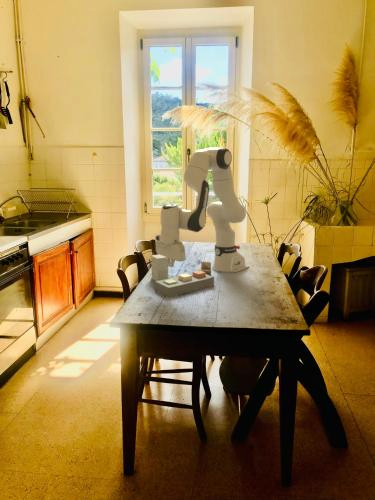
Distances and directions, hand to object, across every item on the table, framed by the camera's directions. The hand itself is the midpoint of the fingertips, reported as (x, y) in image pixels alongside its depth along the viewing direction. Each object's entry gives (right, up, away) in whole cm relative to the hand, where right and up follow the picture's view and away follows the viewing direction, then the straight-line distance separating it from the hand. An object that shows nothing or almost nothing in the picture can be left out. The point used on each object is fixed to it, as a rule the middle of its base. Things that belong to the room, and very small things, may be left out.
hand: (170, 266), depth 189 cm
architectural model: (+18, -6, +31) cm, 36 cm away
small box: (-7, -8, +21) cm, 23 cm away
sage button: (0, -11, +3) cm, 11 cm away
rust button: (+14, -7, +13) cm, 20 cm away
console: (+7, -11, +8) cm, 15 cm away
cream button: (+7, -9, +8) cm, 13 cm away
